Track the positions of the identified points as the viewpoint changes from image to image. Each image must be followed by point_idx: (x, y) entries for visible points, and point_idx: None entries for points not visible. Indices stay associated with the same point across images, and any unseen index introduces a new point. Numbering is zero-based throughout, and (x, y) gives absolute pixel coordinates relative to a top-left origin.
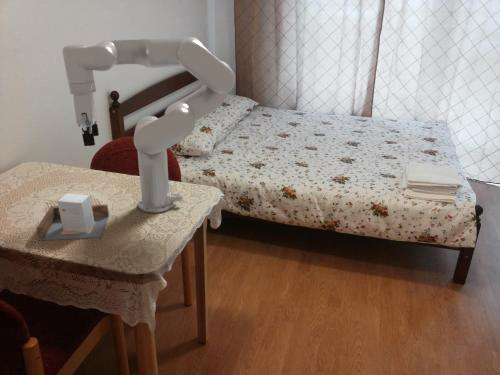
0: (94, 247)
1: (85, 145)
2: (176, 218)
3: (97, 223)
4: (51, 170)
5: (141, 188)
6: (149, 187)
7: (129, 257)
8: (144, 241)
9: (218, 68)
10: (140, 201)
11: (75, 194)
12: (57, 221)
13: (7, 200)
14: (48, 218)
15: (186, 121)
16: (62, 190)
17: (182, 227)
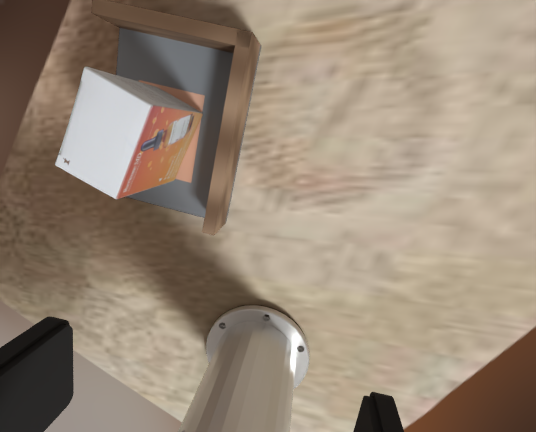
0: (67, 172)
1: (49, 325)
2: (170, 371)
3: (180, 187)
4: None
5: (235, 359)
6: (198, 387)
7: (19, 244)
8: (78, 284)
9: None
10: (272, 319)
11: (132, 143)
12: (224, 63)
13: None
14: (171, 32)
15: None
16: (515, 62)
17: (125, 370)
